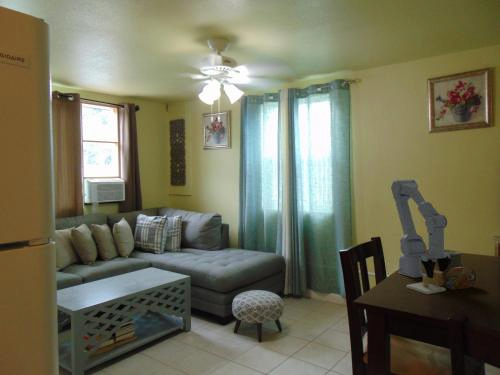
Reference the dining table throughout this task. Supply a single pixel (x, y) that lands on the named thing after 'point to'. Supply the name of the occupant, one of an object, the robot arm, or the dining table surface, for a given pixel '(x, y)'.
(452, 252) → the can
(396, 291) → the dining table surface
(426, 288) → the base plate
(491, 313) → the dining table surface
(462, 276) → the tin
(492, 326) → the dining table surface
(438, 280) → the yellow-orange cube block
